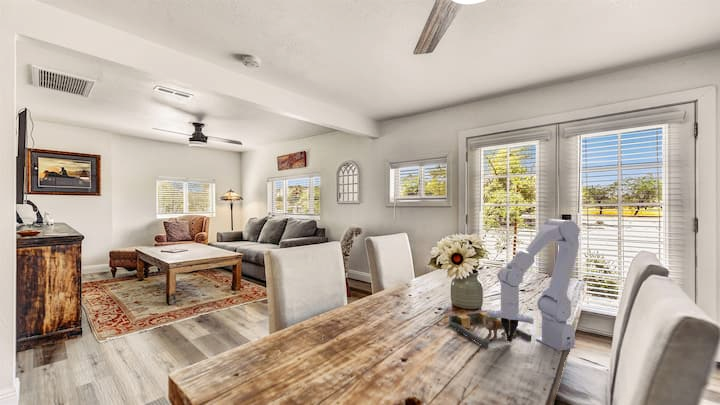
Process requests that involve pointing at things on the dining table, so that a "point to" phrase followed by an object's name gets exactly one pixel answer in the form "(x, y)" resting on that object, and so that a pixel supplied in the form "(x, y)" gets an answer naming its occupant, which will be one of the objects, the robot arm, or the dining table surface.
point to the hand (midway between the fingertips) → (509, 340)
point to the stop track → (473, 317)
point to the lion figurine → (494, 325)
